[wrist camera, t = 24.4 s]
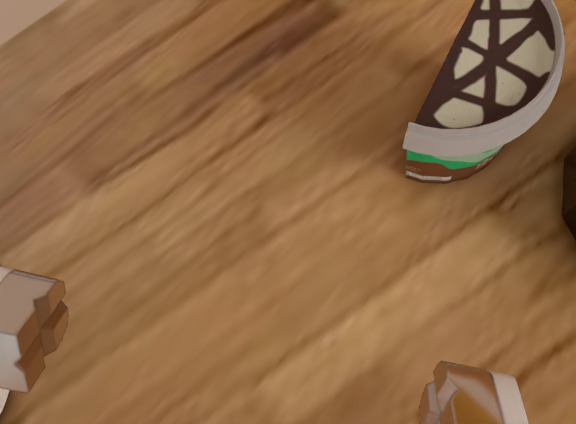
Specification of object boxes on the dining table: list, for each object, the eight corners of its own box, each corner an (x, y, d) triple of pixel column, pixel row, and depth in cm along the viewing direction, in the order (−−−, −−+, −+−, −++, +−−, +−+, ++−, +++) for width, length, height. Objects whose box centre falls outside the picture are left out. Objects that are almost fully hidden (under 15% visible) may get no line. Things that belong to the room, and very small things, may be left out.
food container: (482, 232, 34) (523, 177, 25) (396, 195, 36) (404, 131, 27) (549, 80, 37) (610, -22, 27) (466, 53, 38) (495, -52, 29)
